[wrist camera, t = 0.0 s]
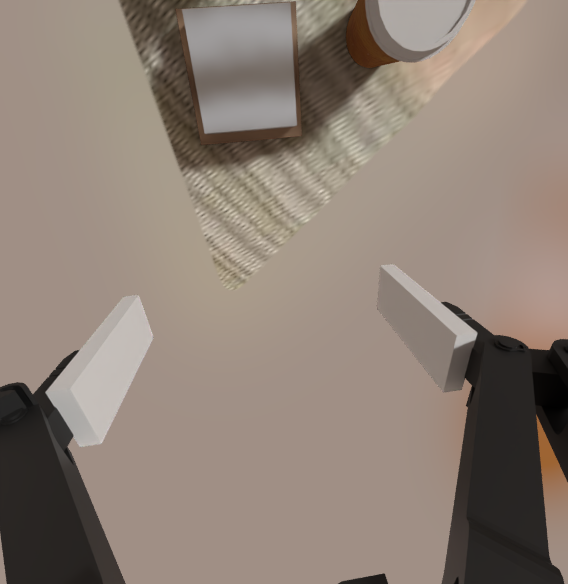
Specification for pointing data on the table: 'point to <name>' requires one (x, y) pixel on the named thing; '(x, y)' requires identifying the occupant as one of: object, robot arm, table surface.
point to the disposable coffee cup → (403, 29)
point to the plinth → (243, 70)
